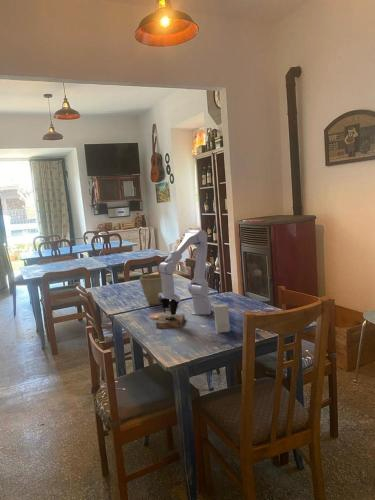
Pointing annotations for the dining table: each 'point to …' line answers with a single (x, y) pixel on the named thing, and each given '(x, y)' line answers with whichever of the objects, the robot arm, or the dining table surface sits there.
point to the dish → (156, 316)
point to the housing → (170, 321)
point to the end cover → (169, 314)
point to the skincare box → (221, 318)
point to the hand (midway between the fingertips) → (170, 313)
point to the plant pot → (152, 287)
